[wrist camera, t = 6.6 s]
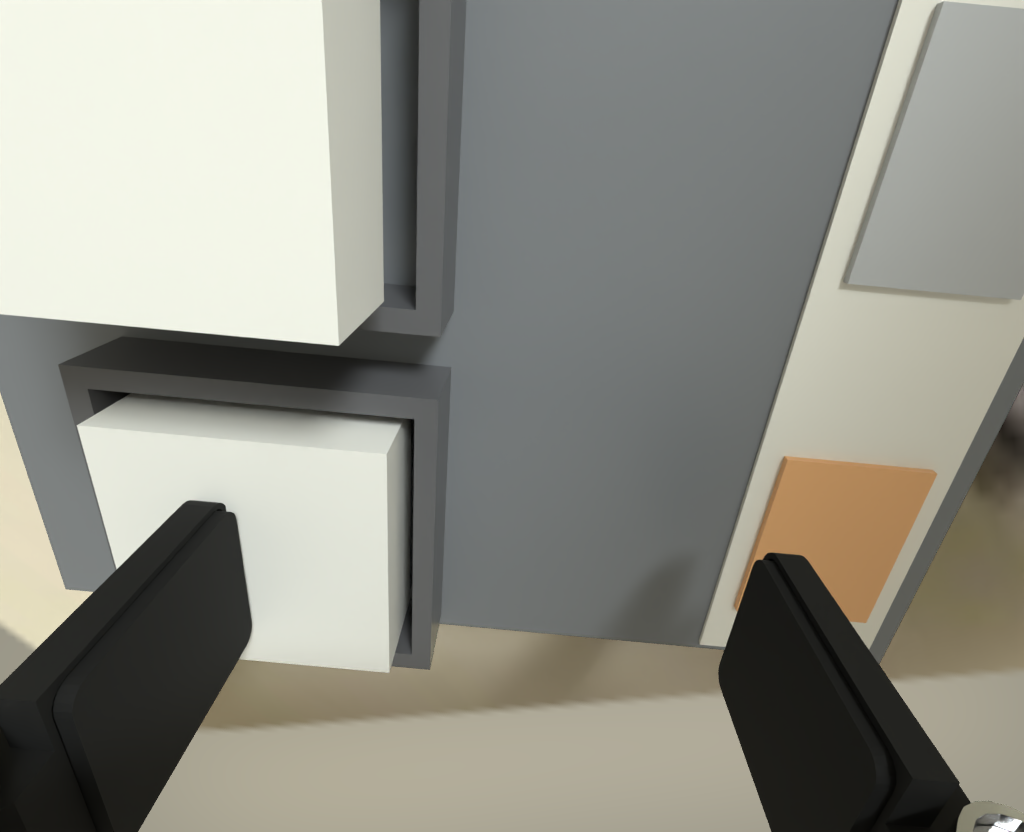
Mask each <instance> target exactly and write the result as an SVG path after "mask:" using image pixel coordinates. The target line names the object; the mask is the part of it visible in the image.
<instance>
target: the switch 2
mask: <svg viewBox="0 0 1024 832" xmlns="http://www.w3.org/2000/svg"><path fill="white" fill-rule="evenodd" d="M77 428H78V432H79V435H80V439H81V443H82V446H83V450H84V453H85V457H86V461H87V464H88V468H89V471H90V475H91V479H92V482H93V486H94V489H95V493H96V497H97V500H98V504H99V508H100V511H101V515H102V518H103V522H104V526H105V529H106V533H107V536H108V540H109V544H110V547H111V551H112V555H113V558H114V562H115V565H116V569H118V568H119V567H120V566H121V565H122V564H123V563H124V562H125V561H126V560H127V559H128V558H129V557H130V556H131V555H132V554H133V553H134V552H135V551H136V550H137V549H138V548H139V547H140V546H141V545H142V544H143V543H144V542H145V541H146V540H147V539H148V538H149V537H150V536H151V535H152V534H153V533H154V532H155V531H156V530H157V529H158V528H159V527H160V526H161V525H162V524H163V523H164V522H165V521H166V520H167V519H168V518H169V517H170V516H171V515H172V514H173V513H174V512H175V511H176V510H177V509H178V508H179V507H180V506H181V505H182V504H183V503H185V502H186V501H189V500H196V501H207V502H218V503H223V504H224V505H225V506H226V512H233V513H234V514H235V516H236V520H237V526H238V533H239V540H240V546H241V553H242V560H243V567H244V573H245V580H246V587H247V593H248V600H249V607H250V613H251V620H252V631H251V636H250V639H249V642H248V644H247V646H246V648H245V649H244V651H243V653H242V654H241V656H240V658H239V659H242V660H253V661H264V662H275V663H286V664H297V665H308V666H318V667H329V668H340V669H351V670H362V671H373V672H384V673H389V672H390V669H391V665H392V662H393V658H394V655H395V651H396V647H397V644H398V640H399V637H400V633H401V630H402V626H403V623H404V619H405V615H406V612H407V608H408V605H409V601H410V513H411V419H406V418H395V417H385V416H374V415H363V414H352V413H342V412H331V411H320V410H310V409H299V408H288V407H277V406H267V405H256V404H245V403H234V402H224V401H213V400H202V399H191V398H181V397H170V396H159V395H148V394H138V393H131V394H129V395H127V396H126V397H124V398H122V399H121V400H119V401H117V402H115V403H114V404H112V405H110V406H109V407H107V408H105V409H104V410H102V411H100V412H99V413H97V414H95V415H94V416H92V417H90V418H89V419H87V420H85V421H84V422H82V423H80V424H78V425H77Z"/></svg>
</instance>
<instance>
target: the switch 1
mask: <svg viewBox="0 0 1024 832" xmlns="http://www.w3.org/2000/svg"><path fill="white" fill-rule="evenodd" d="M383 302H384V270H383V193H382V115H381V38H380V0H0V314H3V315H14V316H25V317H36V318H46V319H57V320H68V321H78V322H89V323H100V324H110V325H121V326H132V327H143V328H153V329H164V330H175V331H185V332H196V333H207V334H218V335H228V336H239V337H250V338H260V339H271V340H282V341H292V342H303V343H314V344H325V345H335V346H339V345H340V344H341V343H342V342H343V341H344V340H345V339H346V338H347V337H348V336H349V335H350V334H351V333H353V332H354V331H355V330H356V329H357V328H358V327H359V326H360V325H361V324H362V323H363V322H364V321H365V320H366V319H367V318H368V317H369V316H370V315H371V314H372V313H373V312H374V311H375V310H376V309H377V308H378V307H379V306H380V305H381V304H382V303H383Z"/></svg>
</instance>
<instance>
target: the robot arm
mask: <svg viewBox="0 0 1024 832" xmlns="http://www.w3.org/2000/svg"><path fill="white" fill-rule="evenodd" d="M251 631H252V620H251V613H250V607H249V600H248V593H247V587H246V580H245V573H244V567H243V560H242V553H241V546H240V540H239V533H238V526H237V520H236V516H235V514H234V513H233V512H226V506H225V505H224V504H223V503H218V502H207V501H196V500H189V501H186V502H185V503H183V504H182V505H181V506H180V507H179V508H178V509H177V510H176V511H175V512H174V513H173V514H172V515H171V516H170V517H169V518H168V519H167V520H166V521H165V522H164V523H163V524H162V525H161V526H160V527H159V528H158V529H157V530H156V531H155V532H154V533H153V534H152V535H151V536H150V537H149V538H148V539H147V540H146V541H145V542H144V543H143V544H142V545H141V546H140V547H139V548H138V549H137V550H136V551H135V552H134V553H133V554H132V555H131V556H130V557H129V558H128V559H127V560H126V561H125V562H124V563H123V564H122V565H121V566H120V567H119V568H118V569H117V570H116V571H115V572H114V573H113V574H112V575H111V576H110V577H109V578H108V579H107V580H106V581H104V582H103V583H102V584H101V585H100V586H99V587H98V588H97V589H96V590H95V591H94V592H93V593H92V594H91V595H90V596H89V597H88V598H87V599H86V600H85V601H84V602H83V603H82V604H81V605H80V606H79V607H78V608H77V609H76V610H75V611H74V612H73V613H72V614H71V615H70V616H69V617H68V618H67V619H66V620H65V621H64V622H63V623H62V624H61V625H60V626H59V627H58V628H57V629H56V630H55V631H54V632H53V633H52V634H51V635H50V636H49V637H48V638H47V639H46V640H45V641H44V642H43V643H42V644H41V645H40V646H39V647H38V648H37V649H36V650H35V651H34V652H33V653H32V654H31V655H30V656H29V657H28V658H27V659H26V660H25V661H24V662H23V663H22V664H21V665H20V666H19V667H18V668H17V669H16V670H15V671H14V672H13V673H12V674H11V675H10V676H9V677H8V678H7V679H6V680H5V681H4V682H3V683H2V684H1V685H0V832H138V831H139V829H140V827H141V825H142V824H143V822H144V820H145V818H146V817H147V815H148V814H149V812H150V810H151V808H152V807H153V805H154V803H155V802H156V800H157V798H158V796H159V795H160V793H161V791H162V789H163V788H164V786H165V785H166V783H167V781H168V779H169V777H170V776H171V774H172V773H173V771H174V769H175V767H176V766H177V764H178V762H179V761H180V759H181V757H182V755H183V754H184V752H185V750H186V749H187V747H188V745H189V743H190V742H191V740H192V738H193V737H194V735H195V733H196V731H197V730H198V728H199V726H200V725H201V723H202V721H203V720H204V718H205V716H206V714H207V713H208V711H209V709H210V708H211V706H212V704H213V702H214V701H215V699H216V697H217V696H218V694H219V692H220V690H221V689H222V687H223V685H224V684H225V682H226V680H227V678H228V677H229V675H230V673H231V672H232V670H233V668H234V666H235V665H236V663H237V661H238V660H239V658H240V656H241V654H242V653H243V651H244V649H245V648H246V646H247V644H248V642H249V639H250V636H251ZM718 674H719V684H720V687H721V690H722V693H723V696H724V699H725V701H726V704H727V707H728V710H729V713H730V716H731V718H732V721H733V724H734V727H735V730H736V733H737V735H738V738H739V741H740V744H741V747H742V750H743V753H744V755H745V758H746V761H747V764H748V767H749V769H750V772H751V775H752V778H753V781H754V783H755V786H756V789H757V792H758V795H759V798H760V801H761V803H762V806H763V809H764V812H765V814H766V817H767V820H768V823H769V826H770V829H771V832H1024V813H1022V812H1020V811H1018V810H1016V809H1014V808H1011V807H1009V806H1005V805H1002V804H999V803H995V802H992V801H975V802H972V803H970V801H969V799H968V798H967V796H966V795H965V793H964V792H963V790H962V789H961V787H960V786H959V781H958V780H957V778H956V777H955V775H954V774H953V772H952V771H951V770H950V768H949V767H948V765H947V764H946V762H945V761H944V759H943V758H942V756H941V755H940V753H939V752H938V750H937V749H936V747H935V746H934V745H933V743H932V742H931V740H930V739H929V737H928V736H927V734H926V733H925V731H924V730H923V728H922V727H921V726H920V724H919V723H918V721H917V720H916V718H915V717H914V716H913V714H912V712H911V711H910V709H909V708H908V706H907V705H906V703H905V702H904V701H903V699H902V698H901V696H900V695H899V693H898V692H897V690H896V689H895V687H894V686H893V684H892V683H891V681H890V680H889V679H888V677H887V676H886V674H885V673H884V671H883V670H882V668H881V667H880V665H879V664H878V662H877V661H876V660H875V658H874V657H873V655H872V654H871V652H870V651H869V649H868V648H867V646H866V645H865V643H864V642H863V640H862V639H861V638H860V636H859V635H858V633H857V632H856V630H855V629H854V627H853V626H852V624H851V623H850V621H849V620H848V618H847V617H846V616H845V614H844V613H843V611H842V610H841V608H840V607H839V605H838V604H837V602H836V601H835V599H834V598H833V596H832V595H831V594H830V592H829V591H828V589H827V588H826V586H825V585H824V583H823V582H822V580H821V579H820V577H819V576H818V574H817V573H816V572H815V570H814V569H813V567H812V566H811V564H810V563H809V561H808V560H807V559H806V558H805V557H804V556H802V555H795V554H783V553H772V552H770V553H767V554H766V555H765V556H764V558H763V560H756V561H755V563H754V565H753V567H752V570H751V573H750V576H749V579H748V582H747V585H746V588H745V591H744V594H743V597H742V600H741V603H740V606H739V608H738V611H737V614H736V617H735V620H734V623H733V626H732V629H731V632H730V635H729V638H728V641H727V644H726V647H725V650H724V653H723V656H722V659H721V662H720V665H719V673H718Z"/></svg>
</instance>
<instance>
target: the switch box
mask: <svg viewBox="0 0 1024 832" xmlns="http://www.w3.org/2000/svg"><path fill="white" fill-rule="evenodd" d="M380 38H381V115H382V193H383V270H384V302H383V303H382V304H381V305H380V306H379V307H378V308H377V309H376V310H375V311H374V312H373V313H372V314H371V315H370V316H369V317H368V318H367V319H366V320H365V321H364V322H363V323H362V324H361V325H360V326H359V327H358V328H357V329H356V330H355V331H354V332H353V333H351V334H350V335H349V336H348V337H347V338H346V339H345V340H344V341H343V342H342V343H341V344H340V345H339V346H335V345H325V344H314V343H303V342H292V341H282V340H271V339H260V338H250V337H239V336H228V335H218V334H207V333H196V332H185V331H175V330H164V329H153V328H143V327H132V326H121V325H110V324H100V323H89V322H78V321H68V320H57V319H46V318H36V317H25V316H14V315H3V314H0V393H1V396H2V399H3V402H4V405H5V408H6V411H7V414H8V417H9V420H10V423H11V426H12V429H13V432H14V435H15V438H16V441H17V444H18V447H19V450H20V453H21V456H22V459H23V462H24V465H25V468H26V471H27V474H28V477H29V480H30V483H31V486H32V489H33V492H34V495H35V498H36V501H37V504H38V507H39V510H40V513H41V516H42V519H43V522H44V525H45V528H46V531H47V534H48V537H49V540H50V543H51V546H52V549H53V552H54V555H55V558H56V561H57V564H58V567H59V570H60V573H61V576H62V579H63V582H64V585H65V588H66V589H69V590H80V591H91V592H94V591H95V590H96V589H97V588H98V587H99V586H100V585H101V584H102V583H103V582H104V581H106V580H107V579H108V578H109V577H110V576H111V575H112V574H113V573H114V572H115V571H116V570H117V569H116V565H115V562H114V558H113V555H112V551H111V547H110V544H109V540H108V536H107V533H106V529H105V526H104V522H103V518H102V515H101V511H100V508H99V504H98V500H97V497H96V493H95V489H94V486H93V482H92V479H91V475H90V471H89V468H88V464H87V461H86V457H85V453H84V450H83V446H82V443H81V439H80V435H79V432H78V428H77V425H78V424H80V423H82V422H84V421H85V420H87V419H89V418H90V417H92V416H94V415H95V414H97V413H99V412H100V411H102V410H104V409H105V408H107V407H109V406H110V405H112V404H114V403H115V402H117V401H119V400H121V399H122V398H124V397H126V396H127V395H129V394H131V393H138V394H148V395H159V396H170V397H181V398H191V399H202V400H213V401H224V402H234V403H245V404H256V405H267V406H277V407H288V408H299V409H310V410H320V411H331V412H342V413H352V414H363V415H374V416H385V417H395V418H406V419H411V513H410V601H409V605H408V608H407V612H406V615H405V619H404V623H403V626H402V630H401V633H400V637H399V640H398V644H397V647H396V651H395V655H394V658H393V662H392V665H391V666H395V667H406V668H417V669H428V670H430V667H431V662H432V657H433V652H434V647H435V642H436V638H437V633H438V628H439V624H449V625H460V626H471V627H482V628H493V629H503V630H514V631H525V632H536V633H547V634H558V635H569V636H579V637H590V638H601V639H612V640H623V641H634V642H645V643H655V644H666V645H677V646H688V647H699V648H710V649H720V650H725V647H726V644H727V641H728V638H729V635H730V632H731V629H732V626H733V623H734V620H735V617H736V614H737V611H738V608H739V606H740V603H741V600H742V597H743V594H744V591H745V588H746V585H747V582H748V579H749V576H750V573H751V570H752V567H753V565H754V563H755V561H756V560H763V558H764V556H765V555H766V554H767V553H770V552H772V553H783V554H795V555H802V556H804V557H805V558H806V559H807V560H808V561H809V563H810V564H811V566H812V567H813V569H814V570H815V572H816V573H817V574H818V576H819V577H820V579H821V580H822V582H823V583H824V585H825V586H826V588H827V589H828V591H829V592H830V594H831V595H832V596H833V598H834V599H835V601H836V602H837V604H838V605H839V607H840V608H841V610H842V611H843V613H844V614H845V616H846V617H847V618H848V620H849V621H850V623H851V624H852V626H853V627H854V629H855V630H856V632H857V633H858V635H859V636H860V638H861V639H862V640H863V642H864V643H865V645H866V646H867V648H868V649H869V651H870V652H871V654H872V655H873V657H874V658H875V660H876V661H877V662H878V664H880V662H881V660H882V658H883V656H884V654H885V652H886V650H887V648H888V646H889V644H890V642H891V640H892V638H893V636H894V634H895V633H896V631H897V629H898V627H899V625H900V623H901V621H902V619H903V617H904V615H905V613H906V611H907V609H908V607H909V605H910V603H911V601H912V599H913V598H914V596H915V594H916V592H917V590H918V588H919V586H920V584H921V582H922V580H923V578H924V576H925V574H926V572H927V570H928V568H929V566H930V564H931V562H932V561H933V559H934V557H935V555H936V553H937V551H938V549H939V547H940V545H941V543H942V541H943V539H944V537H945V535H946V533H947V531H948V529H949V527H950V526H951V524H952V522H953V520H954V518H955V516H956V514H957V512H958V510H959V508H960V506H961V504H962V502H963V500H964V498H965V496H966V494H967V492H968V490H969V489H970V487H971V485H972V483H973V481H974V479H975V477H976V475H977V473H978V471H979V469H980V467H981V465H982V463H983V461H984V459H985V457H986V455H987V454H988V452H989V450H990V448H991V446H992V444H993V442H994V440H995V438H996V436H997V434H998V432H999V430H1000V428H1001V426H1002V424H1003V422H1004V420H1005V418H1006V417H1007V415H1008V413H1009V411H1010V409H1011V407H1012V405H1013V403H1014V401H1015V399H1016V397H1017V395H1018V393H1019V391H1020V389H1021V387H1022V385H1023V383H1024V0H380Z"/></svg>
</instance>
